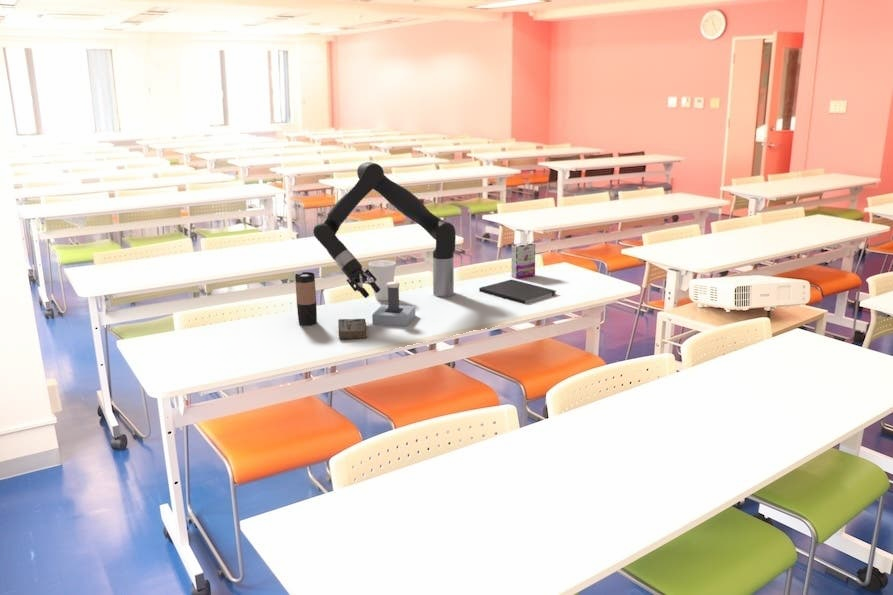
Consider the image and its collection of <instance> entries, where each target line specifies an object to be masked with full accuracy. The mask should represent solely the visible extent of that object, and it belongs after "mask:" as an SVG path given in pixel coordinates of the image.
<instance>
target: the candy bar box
mask: <svg viewBox="0 0 893 595" xmlns="http://www.w3.org/2000/svg"><path fill="white" fill-rule="evenodd" d="M535 275H536V243H535V242H532V241H527V242H526V241H525V242H521V243H519V242H518V243H513V244H511V277H512V278H514V279H515V280H516V279H523V278H528V277H535Z"/></svg>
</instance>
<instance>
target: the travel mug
mask: <svg viewBox="0 0 893 595" xmlns="http://www.w3.org/2000/svg"><path fill="white" fill-rule="evenodd" d="M294 279H295V280H294V281H295V295H296V298H295V300H296V308H297V319H298V324H299V325H300V326H304V327H305V326H306V327H307V326H313V325H314V326H315V325H316V324H317V323H318V322H317V321H318V319H317V317H318V314H317V309H318V308H317V291H316V279H315V273H313V272H310V271H309V272H308V271H303V272H301V273H299V274H298V273H295V278H294Z"/></svg>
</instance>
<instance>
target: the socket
mask: <svg viewBox="0 0 893 595" xmlns="http://www.w3.org/2000/svg"><path fill="white" fill-rule="evenodd" d="M415 317H416V306H415V305H401V304H399V313H388V304H383V303H382V304H381V305H380V306H379V307H378V308H377V309H376V310H375V311H374V312H373V313H372V315H371V318H372V325H380V326H396V327H397V326H399V327H407V326H409V324H410V323H411V322H412V320H413V319H414V318H415Z"/></svg>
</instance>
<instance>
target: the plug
mask: <svg viewBox="0 0 893 595" xmlns="http://www.w3.org/2000/svg"><path fill="white" fill-rule="evenodd" d="M387 287H388V300H387V305H388V313H399V305H400V292H399V291H400V289H399V288H400V282H398V281H394V282H388V283H387Z"/></svg>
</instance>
